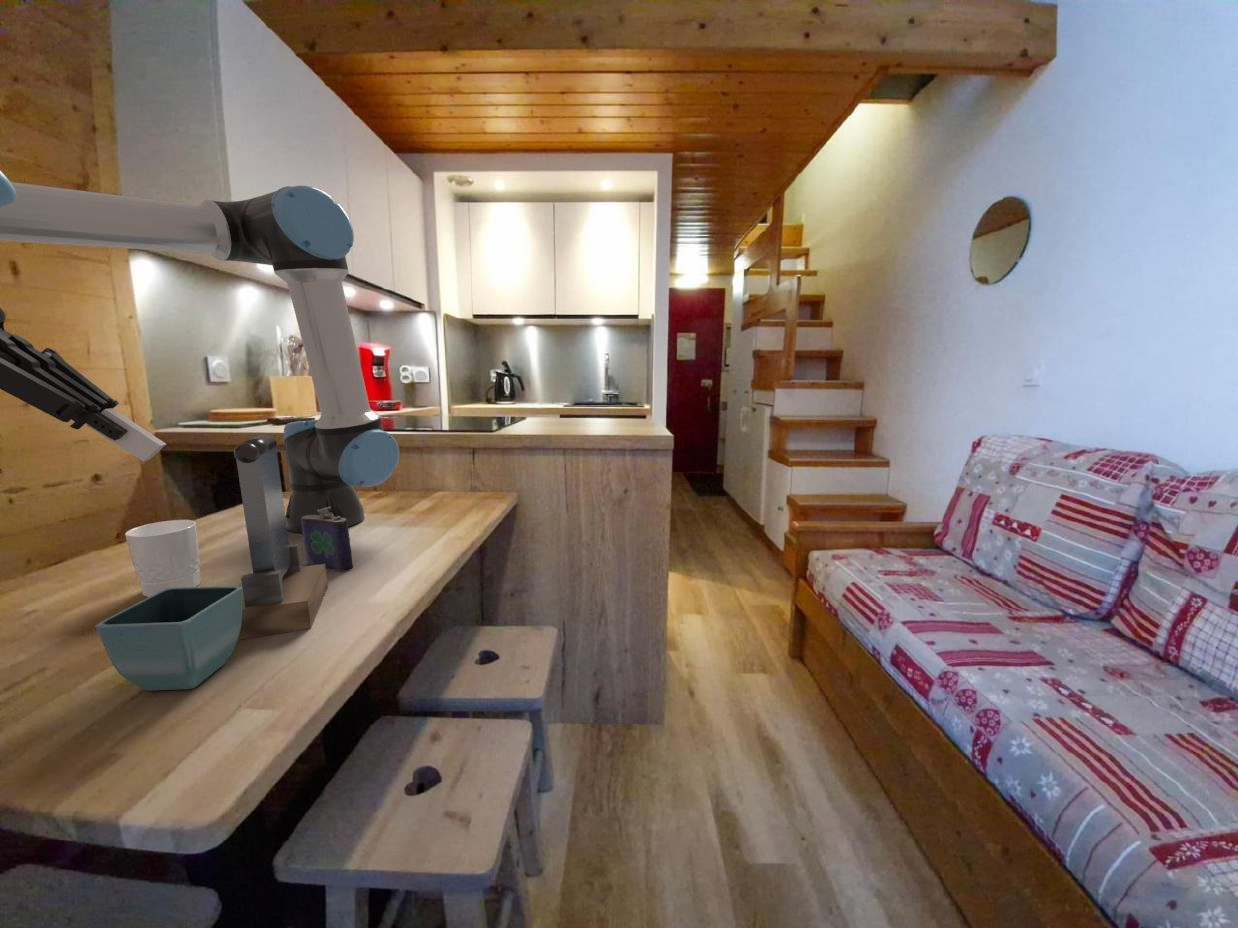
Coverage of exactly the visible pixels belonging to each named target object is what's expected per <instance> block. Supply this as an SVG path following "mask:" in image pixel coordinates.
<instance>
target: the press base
mask: <svg viewBox="0 0 1238 928" xmlns="http://www.w3.org/2000/svg"><path fill="white" fill-rule="evenodd" d="M289 548H290V556H291V565H290V567H289V568H288V570H287V572H286V573H285V575H284V577H283V578H282V575H281V570H278V571H270V572H262V573H254V574H253V572H248V573H247V574H243V575H242V577H240V583H239V584H238V585H237V586H241V587H243V589H242V623H241V630H240V634H239V637H238V640H237V641H240V640H247V639H253V638H259V637H265V636H271V635H277V634H284V633H288V632H296V631H300V630H306V629H307V630H308V629H311V628H312V627H313V625H314V622H315V620H316V618H317V615H318V612H319V610H320V607H321V605H322V602H323V601H324V598H323V597H325V595H326V593H327V591H326V590H328V588H329V586H328V578H327V569H326V568H325V564H320V565H311V566H307V565H306V566H302V559H301V551H300V545H299V543H295V544H294V543H291V544H289ZM325 592H326V593H325Z"/></svg>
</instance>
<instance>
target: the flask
mask: <svg viewBox="0 0 1238 928" xmlns="http://www.w3.org/2000/svg"><path fill="white" fill-rule="evenodd" d="M328 508H329V509H330V508H331V507H325V508H322V509H320V510H319V509H318V510H317V511H318V512H319V513H320V515H306V516H303V517H301V525H302V532H303V533H302V536H303V537H302V539H303V545H304V555H305V556H304V558H305V565H306V566H311V565H320V564H325V568H326V570H330V569H332V570H333V571H335V570H337V571H338V572H340V571H342V572H347V571H346V570H349V571H351V570H353V569H354V568H353V567H354V564H353V555H352V548H351V540H350V539H351V538H350V532H349V531H350V530H349V527H348V521H347V519H345V518H341V516H338V517H334V516H333V513H331V512H328ZM352 568H353V569H352ZM350 569H351V570H350ZM337 571H336V572H337Z"/></svg>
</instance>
